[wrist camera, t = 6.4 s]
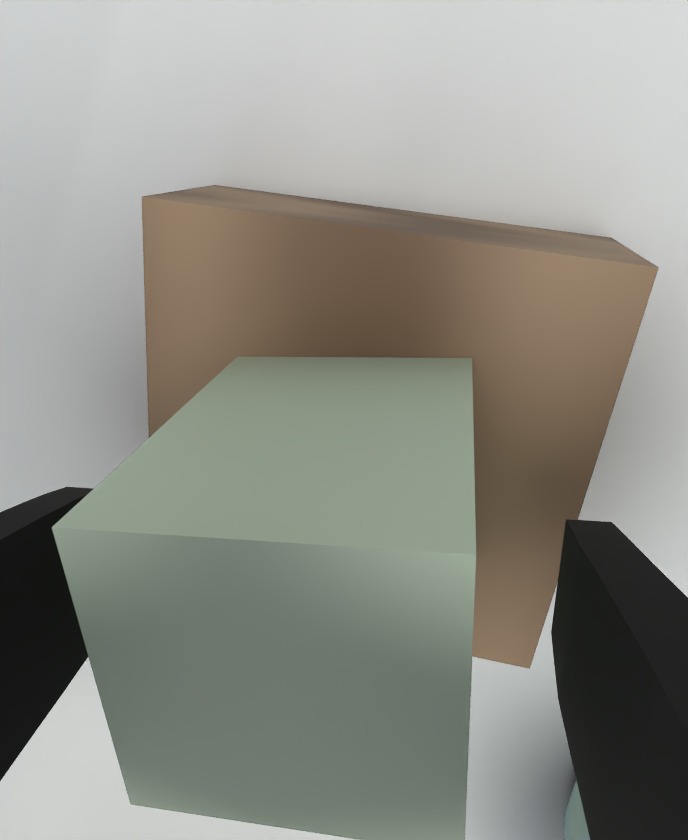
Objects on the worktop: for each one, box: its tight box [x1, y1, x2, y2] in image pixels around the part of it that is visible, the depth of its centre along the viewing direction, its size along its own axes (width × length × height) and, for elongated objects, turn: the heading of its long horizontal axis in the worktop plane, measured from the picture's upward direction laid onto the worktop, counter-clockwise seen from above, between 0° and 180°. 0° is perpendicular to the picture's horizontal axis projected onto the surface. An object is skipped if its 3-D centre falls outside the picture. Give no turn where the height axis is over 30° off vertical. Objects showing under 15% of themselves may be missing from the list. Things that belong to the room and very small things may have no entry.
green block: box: [52, 356, 476, 840], centre depth 10 cm, size 4×4×6 cm
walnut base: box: [142, 185, 658, 669], centre depth 14 cm, size 9×9×4 cm
